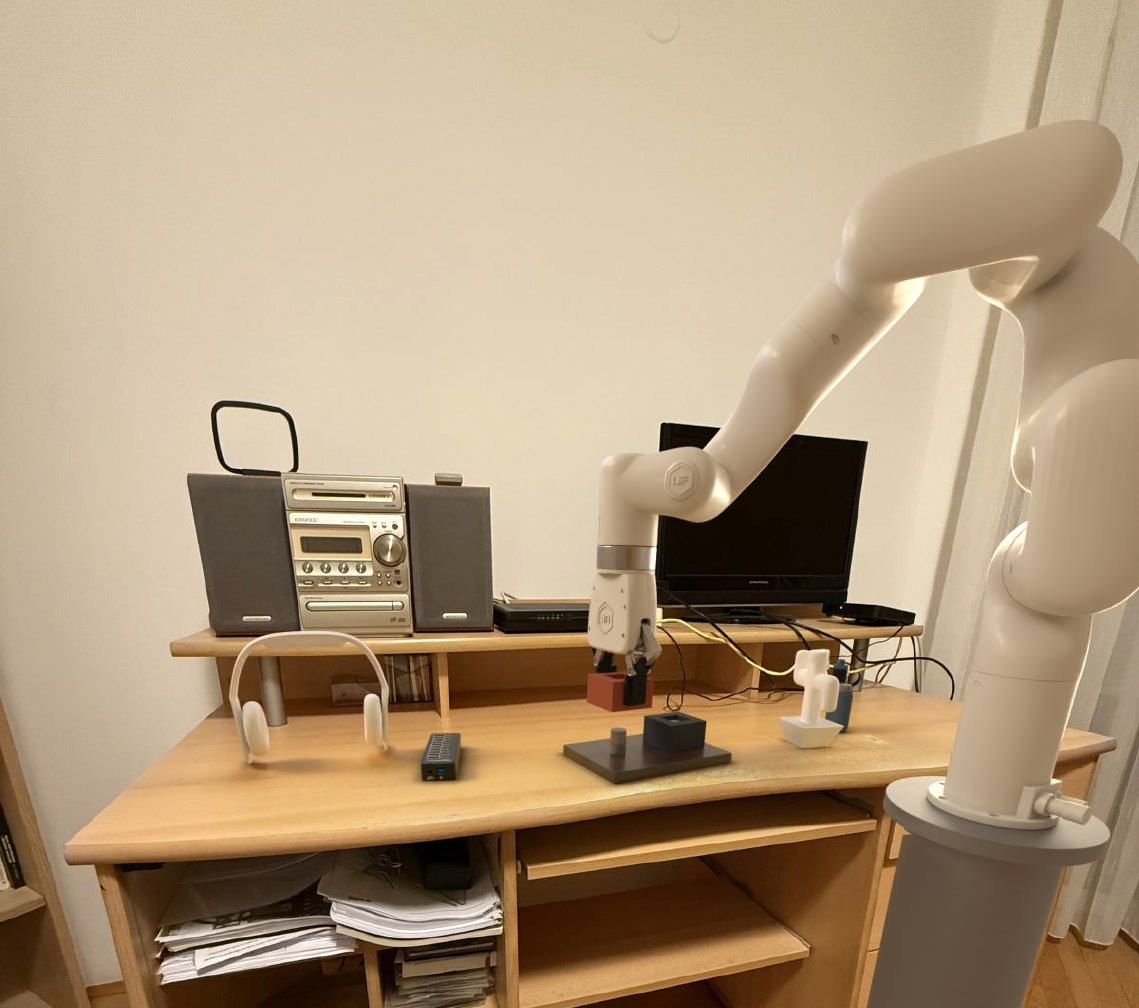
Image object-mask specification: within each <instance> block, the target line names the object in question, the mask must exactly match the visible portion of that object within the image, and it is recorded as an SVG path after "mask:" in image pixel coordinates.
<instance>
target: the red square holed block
mask: <svg viewBox="0 0 1139 1008" xmlns="http://www.w3.org/2000/svg"><path fill="white" fill-rule="evenodd" d="M625 675H629V674H628V670H622V671H621V670H619V671H617V672H607V673H588V674H587V685H586V687H587V688H586V703H588V704H590V705H592V706H595V707H598V708H600V709H602V710H604V711H608V712H610V713H618V712H626V711H636V710H645V709H652V708H653V699H654V698H653V697H654V683H655V678H653V677H648V676H647V687H646V702H645V704H642V705H633V706H626V705H624V683H625Z"/></svg>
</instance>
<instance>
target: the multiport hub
mask: <svg viewBox="0 0 1139 1008" xmlns="http://www.w3.org/2000/svg"><path fill="white" fill-rule="evenodd" d="M461 751H462V734H461V733H459V732H434V733H433V732H432V733H430V736H429V738H428V741H427V744H426V747H425V750H424V753H423V756H422V758H421V761H420V777H421V781H426V782H427V781H428V782H429V781H456V780H457V776H458V771H459V763H460V757H461Z"/></svg>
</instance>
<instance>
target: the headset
mask: <svg viewBox="0 0 1139 1008" xmlns="http://www.w3.org/2000/svg"><path fill="white" fill-rule="evenodd" d="M347 643H350V644H351V645H354V646H356V647H357V648H358V649H360V650H361V651H362V652H363V653H364V654H365V656H366V657H367V658H368V660H369V661H370V663H371V665H372V667H373V669H374V671H375V673H376V676H377V678H378V681H379V683H380V686H381V699H380V697H379V696H378V695H377V694H375V693H369V694H367V695H366V696H365V697H364V700H363V723H364V726H363V727H364V739H365V743H366V744H367V745H368V746H370V747H377V746H379V745H380V744H381V741H382V742H383V746H384V750H385V751H389V707H388V706H389V691H390V689H389V684H388V682H387V680H386V677H385V674H384V672H383V669H382V667H381V664H380V663H379V661H378V659H377V657H376V655H375V654H374V652H373V651H372V650H371V649H370V647H369V646H368V645H367V644H366V643H365V642H364V641H362V640H361V639H359V638H357V637H356V636H353V635H351V634H348V633H344V632H339V631H338V632H337V631H328V630H299V631H284V632H275V633H270V634H266V635H262V636H259V637H257V638H255V639H253V640H251V641H249V643H247V644H246V645H245V646H244V647H243V649H242V650H241V651H240V653H239V654H238V656H237V659H236V661H235V664H234V666H233V670H232V674H231V679H230V687H229V694H228V695H229V696H228V699H229V702H230V706H231V711H232V714H233V715H232V716H233V718H234V722H235V727H236V731H237V734H238V738H239V743H240V747H241V750H242V753H243V758H244V761H245V763H246V764H252V755H251V753H252V754H253V756H256V757H264V756H267V754H269V752H270V749H271V741H270V732H269V727H268V724H267V719H266V715H265V712H264V709H263V708H262V706H261V704H259V703H258V702H257V701H253V700H252V701H247V702H245V703H243V704H244V705H243V706H242V707H241V703H240V699H239V697H238V691H239V684H240V679H241V673H242V670H243V666H244V664H245V661H246V659H247V658H248V656H249V655H250V654H251V652H253V651H254V650H255V649H256V648H258V647H260V646H262V645H263V646H264V648H266V649H267V650H269V651H289V650H297V649H313V648H314V649H315V648H330V649H331V648H332V649H334V648H335V649H337V648H341V647H343V646H345V644H347ZM380 700H381V701H380Z"/></svg>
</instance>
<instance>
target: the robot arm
mask: <svg viewBox="0 0 1139 1008" xmlns="http://www.w3.org/2000/svg"><path fill="white" fill-rule="evenodd" d="M1123 164H1124V157H1123V151H1122V146H1121V143H1120V141H1119V139H1118V138H1117V135H1116V134H1115V133H1114V132H1113V131H1112V130H1110V128H1109V127H1107V126H1105V125H1103V124H1101V123H1098V122H1097V121H1092V120H1086V119H1074V120H1073V119H1071V120H1062V121H1056V122H1052V123H1048V124H1044V125H1040V126H1037V127H1033V128H1030V129H1025V130H1023V131H1019V132H1016V133H1013V134H1009V135H1006V136H1002V137H999V138H996V139H992V140H989V141H985V142H982V143H979V144H975V145H972V146H968V147H965V148H961V149H958V150H954V151H950V152H948V153H945V154H944V153H943V154H941V155H938V156H935V157H932V158H931V157H930V158H928V159H925V160H922V161H920V162H916V163H914V164H911V165H909V166H906V167H904V168H902V169H899V170H897V171H895V172H893V173H891V174H889V175H887V176H885V177H883V178H882V179H880V180H878V182H876V183H875V184H873V185H872V186H871V187H870V188H869V189H868V190H866V192H864V193H863V195H861V197H860V198H859V199H858V200H857V202H856V203H855V204H854V205H853V207H852V208H851V210H850V212H849V214H848V215H847V217H846V220H845V223H844V226H843V229H842V232H841V238H840V247H839V249H840V250H839V257H838V258H837V259H836V260H835V261H834V262H833V264H832V265H831V266H830V267H829V268H828V269H827V271H826V272H825V273H824V274H823V275H822V277H821V278H820V279H819V280H818V281H817V283H815V285H814V286H813V287H812V289H811V290H810V291H809V292H808V293H807V294H806V295H805V296H804V298H803V299H802V300H801V301H800V303H799V304H798V305H797V306H796V307H795V308H794V309H793V310H792V312H791V313H790V314H789V315H788V316H787V318H786V319H785V320H783V322H782V323H781V324H780V326H779V327H778V328H777V329H776V330H775V331H774V332H773V334H772V335H771V336H770V337H769V338H768V339H767V341H766V342H765V343H763V345H762V347H761V348H760V350H759V352H758V353H757V355H756V357H755V359H754V362H753V363H752V366H751V369H750V371H749V374H748V377H747V380H746V383H745V386H744V389H743V391H742V394H741V396H740V397H739V399H738V402H737V403H736V406H735V407H734V409H733V410H732V412H731V413H730V416H729V417H728V418H727V420H726V421H725V422H724V424H723V425H722V426H721V427H720V429H719V430H718V431H717V433H716V434H715V435H714V436H713V437H712V438H711V439H710V441H709V442H708V443H707V444H706V446H705V447H704V448H703V449H701V448H699V447H695V446H682V447H676V448H671V449H667V450H662V451H657V452H653V453H652V452H651V453H647V454H646V453H638V452H637V453H636V452H624V453H623V452H622V453H615V454H611V455H609V456H607V457H605V458H604V459H603V460H602V462H601V464H600V468H599V483H598V484H599V486H598V511H597V512H598V515H597V540H596V541H597V545H596V546H597V547H596V571H595V573H594V576H593V581H592V587H591V593H590V599H589V600H590V601H589V610H588V622H587V623H588V624H587V643H588V645H589V646H590V647H591V652H592V655H593V665H594V666H595V670H594V671H595V673H607V672H618V671H617V670H618V669H617V668H618V666H617V665H616V664H615V661H616V657H617V655H624V658H625V659H624V660H625V663H626V669H627V671H628V674H629V675H625V683H624V705H626V706H633V705H642V704H645V702H646V687H647V677H648V676H650V675H651V671H652V670H651V669H652V668H653V667H654V665H655V663H656V661H657V659H658V658H659V657H660V655H661V654H662V647H661V645H660V643H659V641H658V639H657V637H656V636H657V621H658V616H657V615H658V604H657V603H658V602H657V584H656V562H657V545H658V532H659V531H658V529H659V516H667V517H673V518H677V519H680V520H685V521H687V522H691V523H704V522H707V521H710V520H712V519H714V518H716V517H718V516H719V515H720V514H721V513H723V512H724V511H725V510H727V508H728V507H729V506H730V505H731V504H732V503H733V502H735V500H736V499H737V498H738V497H739V496H740V495H741V494H742V493H743V491H745V490H746V489H747V487H749V486H750V485H751V484H752V482H753V481H754V480H755V479H756V478H757V477H758V476H759V475H760V474H761V472H763V470H764V469H765V468H766V467H767V466H768V465H769V464H770V462H772V460H773V459H774V458H775V457H776V455H777V454H778V453H779V452H780V451H781V449H782V448H783V447H784V445H786V444H787V442H788V441H789V440H790V439H791V437H792V436H793V435H794V434H795V433H796V432H797V431H798V430H799V429H800V428H801V426H802V425H803V424H804V422H805V421H806V419H807V418H808V417H809V416H810V414H811V413H812V412H813V410H814V409H815V408H817V406H818V405H819V404H820V402H821V401H822V400H823V399H824V398H826V396H827V395H829V393H830V392H831V391H832V390H833V389H834V388H835V387H836V386H837V384H839V382H841V381H842V379H843V378H845V376H846V375H847V374H848V373H849V372H850V371H851V370H852V369H853V368H854V367H855V366H856V365H857V363H859V361H860V360H861V359H862V358H863V357H865V355H866V354H867V353H868V352H869V351H870V350H871V349H872V348H873V347H874V346H875V345H876V344H877V343H878V342H879V341H880V340H881V338H883V337H884V336H885V334H886V333H888V331H889V330H890V329H892V327H893V326H894V325H895V324H896V323H897V322H898V321H899V320H900V319H901V318H902V317H903V316H904V314H905V313H906V312H907V311H908V310H909V309H910V308H911V306H913V305H914V303H915V302H916V301H917V300H918V298H919V297H920V296H921V294H922V293H923V292H924V290H925V288H926V286H927V284H928V282H929V280H930V279H931V277H934V276H940V275H944V274H945V275H946V274H950V273H955V272H959V271H964V270H968V277H969V281H970V283H971V285H972V288H973V290H975V293H977V295H978V296H979V297H981V298H982V299H983V300H984V301H986V302H988V303H990V304H992V305H994V306H996V307H998V308H1000V309H1002V310H1004V311H1006V312H1008V313H1009V314H1010V315H1011V316H1013V318H1014V319H1015V320H1016V322H1017V324H1018V325H1019V327H1020V330H1021V332H1022V335H1023V336H1022V338H1023V360H1022V361H1023V362H1022V375H1021V376H1022V377H1021V384H1020V392H1019V399H1018V400H1019V401H1018V408H1017V416H1016V423H1015V430H1014V435H1013V440H1012V445H1011V452H1010V467H1011V471H1012V475H1013V478H1014V480H1015V481H1016V483H1017V485H1019V486H1020V487H1021V488H1022V489H1023V490H1024V491H1025V492H1027V493H1028V494H1030V496H1029V497H1030V498H1029V505H1028V512H1027V519H1026V520H1027V521H1025V522H1023V523H1022V524H1020V525H1019V526H1017V527H1016V528H1014V529H1013V530H1012V531H1011V532H1009V534H1007V535H1006V536H1005V538H1004V539H1002V541H1001V542H1000V543H999V545H998V547H997V548H996V550H995V552H994V553H993V555H992V558H991V560H990V562H989V565H988V569H987V573H986V577H985V582H984V583H985V584H984V592H983V599H982V609H981V617H980V621H979V629H978V633H977V639H976V643H975V649H974V653H973V657H972V661H971V666H970V670H969V674H968V678H967V682H966V686H965V692H964V697H963V701H962V705H961V708H960V709H961V710H960V713H959V718H958V722H957V727H956V732H955V735H954V740H953V745H952V749H951V753H950V757H949V762H948V767H947V771H946V779H945V781H941V782H937V783H933V784H932V785H930V786H929V787H928V790H927V798H928V800H929V801H930V802H931V803H932V804H933V805H934V806H936V807H937V808H939V809H941V810H943V811H945V812H947V813H949V814H952V815H955V816H957V817H960V818H963V819H966V820H969V821H973V822H977V823H981V824H985V825H990V826H995V827H1002V828H1008V829H1019V830H1040V829H1046V828H1051V827H1053V826H1055V825H1056V824H1057V823H1058V821H1059V817H1062V819H1065V820H1068V821H1071V822H1074V823H1078V824H1081V825H1085V824H1086V823H1087V822H1088V821H1089V819H1090V817H1091V814H1092V815H1093V808H1092V807H1091V806H1089V802H1088V801H1087V800H1082V799H1079V798H1075V797H1070V796H1066V795H1064V794H1063V792H1062V791H1060V790H1061V788H1062V787H1061V786H1062V783H1063V781H1062V780H1059V779H1055V778H1053V775H1054V771H1055V768H1056V764H1057V761H1058V757H1059V753H1060V750H1061V746H1062V743H1063V739H1064V736H1065V732H1066V729H1067V725H1068V723H1069V719H1070V716H1071V711H1072V708H1073V705H1074V701H1075V698H1076V694H1077V691H1078V687H1079V684H1080V680H1081V679H1082V676H1083V672H1084V668H1085V665H1086V661H1087V657H1088V652H1089V648H1090V643H1091V637H1092V631H1093V618H1094V615H1097V614H1101V613H1103V612H1106V611H1109V610H1111V609H1113V608H1115V607H1117V606H1119V605H1120V604H1122V603H1124V602H1125V601H1127V600H1128V599H1129V598H1131V596H1133V595H1134V594H1135V593H1136V592H1137V591H1138V590H1139V262H1138V260H1137V258H1136V257H1135V256H1134V254H1133V253H1132V252H1131V251H1130V250H1129V248H1127V246H1125V244H1124V243H1122V242H1121V241H1120V240H1119V239H1118V238H1117V237H1115V236H1114V235H1113V234H1111V232H1109V231H1107V230H1106V229H1104V228H1102V227H1101V226H1098V225H1099V224H1100V222H1101V220H1102V219H1103V217H1104V216H1105V214H1106V213H1107V211H1108V210H1109V208H1110V206H1111V205H1112V203H1113V200H1114V198H1115V196H1116V193H1117V192H1118V188H1119V185H1120V181H1121V177H1122V175H1123V166H1124V165H1123ZM635 658H638V659H637V660H635Z"/></svg>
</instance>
